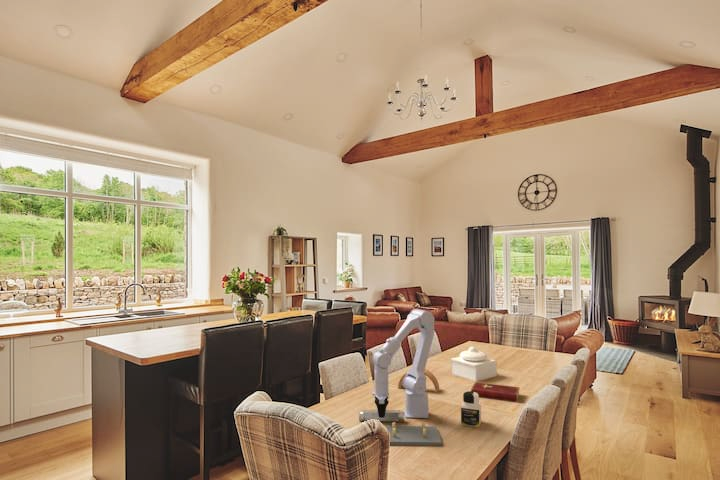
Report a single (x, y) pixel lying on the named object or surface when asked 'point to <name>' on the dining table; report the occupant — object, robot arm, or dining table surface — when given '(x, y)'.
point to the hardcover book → (496, 391)
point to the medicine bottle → (471, 409)
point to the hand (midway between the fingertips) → (381, 415)
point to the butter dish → (474, 365)
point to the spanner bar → (389, 416)
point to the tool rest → (414, 435)
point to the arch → (427, 376)
